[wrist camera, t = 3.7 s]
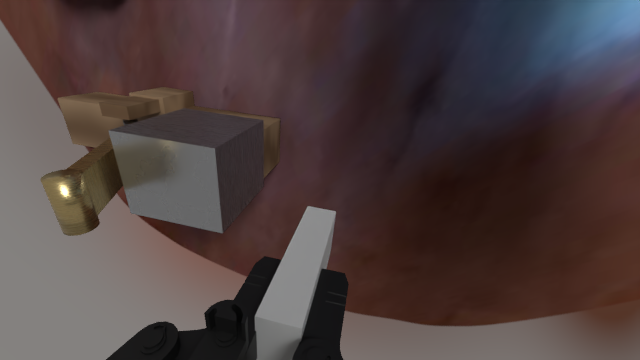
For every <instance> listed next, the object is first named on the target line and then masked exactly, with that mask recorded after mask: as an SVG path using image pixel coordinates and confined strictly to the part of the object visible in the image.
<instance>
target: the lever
mask: <svg viewBox="0 0 640 360" xmlns="http://www.w3.org/2000/svg"><path fill="white" fill-rule="evenodd" d="M135 122H138V119H137V118H136V119H132V120H125V119H123V123H124V126H125V125H128V124H132V123H135ZM41 182H42V184H43V187H44V189H45V191H46V194H47V196H48V198H49V201H50V203H51V206H52V208H53V210H54V213H55V215H56V217H57V220H58V222H59V224H60V226H61V229H62V231H63V233H64V234H66V235H69V236H71V235H72V236H73V235H81V234H84V233H87V232H89V231H92V230H93V229H95V228H96V227H97V226H98V225H99V219H98V214H99V213H100V212H101V211H102V210H103V208H104V207H105V206H106V205H107V204H108V202H109V201H110V200H111V199H112V198H113V197H114V196H115V194H116V193H117V192H118V191H119V190H120V189H121V187H122V186H123V182H122V179H121V175H120V171H119V168H118V164H117V160H116V157H115V153H114V149H113V146H112V142H111V138H109V139H107V140H106V141H105V142H103V143H102V144H100V145H99V146H98V147H96V148H95V149H93V150H92V151H91V152H89V153H88V154H87V155H85V156H84V157H82V158H81V159H80V160H78V161H77V162H75V163H74V164H73V165H71V166H70V167H69V168H67V169H66V170H59V171H55V172H51V173H48V174H46V175H44V176H43V177H42V178H41Z"/></svg>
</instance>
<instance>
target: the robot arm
mask: <svg viewBox="0 0 640 360" xmlns="http://www.w3.org/2000/svg"><path fill="white" fill-rule="evenodd" d="M335 216H336V211H331V210H326V209H321V208H315V207H310V206H308V207H307V209H306V211H305V213H304V215H303V217H302V219H301V221H300V223H299V225H298V227H297V229H296V232H295V234H294V236H293V238H292V240H291V242H290V244H289V246H288V248H287V250H286V252H285V254H284V256H283V258H282V260H279V259H274V258H270V257H266V256H265V257H263V258H262V259H261V260H259V261H258V262H257V263H256V264H255V265H254V267H253V268H252V270H251V272H250V274H249V275H248V277H247V279H246V280H245V283H244V284H243V285H242V287H241V289H240V290H239V292H238V294H237V295H236V297H235V299H234V300H224V301H220V302H217V303H216V304H214V305H212V306H211V307H210V308H209V309H208V310H207V311H206V312H205V313H204V314H205V320H206V326H207V328H205V329H200V330H190V331H178V330H177V328H176V327H175V326H174V324H172V323H168V322H157V323H154V324H151V325H148V326H147V327H145V328H144V329H142V330H141V331H139V332H138V333H137V334H136V335H135V336H134V337H132V338H131V339H130V340H129V341H127V342H126V343H125V344H124V345H123V346H122V347H120V348H119V349H118V350H117V351H116V352H114V353H113V354H112V355H111V356H110V357H109V358H107V359H106V360H343V358H342V356H341V352H340V338H341V331H342V324H343V318H344V311H345V304H346V297H347V291H348V281H347V278H346V275H345V273H340V272H336V271H331V270H327V269H326V268H327V264H328V260H329V256H330V252H331V245H332V238H333V231H334V223H335Z"/></svg>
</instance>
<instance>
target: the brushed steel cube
mask: <svg viewBox="0 0 640 360" xmlns="http://www.w3.org/2000/svg"><path fill="white" fill-rule="evenodd" d="M108 131H109V135H110V138H111V142H112V146H113V149H114V153H115V157H116V160H117V164H118V168H119V171H120V175H121V179H122V182H123V186H124V190H125V193H126V197H127V201H128V205H129V208H130V212H131V213H132V214H137V215H141V216H146V217H150V218H155V219H159V220H164V221H168V222H173V223H178V224H182V225H187V226H191V227H196V228H200V229H205V230H209V231H214V232H219V233H223V232H224V231H225V230H226V229H227V228H228V227H229V226H230V224H231V223H232V222H233V221H234V220H235V219H236V218H237V216H238V215H239V214H240V213H241V212H242V211H243V210H244V208H245V207H246V206H247V205H248V204H249V203H250V202H251V200H252V199H253V198H254V197H255V196H256V195H257V194H258V192H259V191H260V190H261V189H262V188H263V187H264V120H260V119H254V118H247V117H240V116H234V115H227V114H220V113H213V112H207V111H200V110H193V109H187V108H183V109H180V110H176V111H173V112H169V113H166V114H162V115H159V116H156V117H152V118H149V119H145V120H142V121H138V122H135V123H132V124H128V125H125V126H121V127H118V128H114V129H111V130H108Z"/></svg>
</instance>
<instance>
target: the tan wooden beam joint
mask: <svg viewBox="0 0 640 360" xmlns="http://www.w3.org/2000/svg"><path fill="white" fill-rule="evenodd" d="M129 95H130V96H123V95H116V94H109V93H102V92H94V93H87V94H81V95H74V96H67V97H60V98H58V101H59V104H60V107H61V110H62V113H63V116H64V119H65V121H66V124H67V127H68V130H69V133H70V136H71V139H72V142H73V144H78V145H84V146H89V147H95V148H96V147H98V146H99V145H100V144H102V143H103V142H105V141H106V140H107V139H109V138H110V135H109V131H108V130H111V129H114V128H118V127H121V126H124V123H123V119H125V120H132V119H136V118H137V119H138V121H142V120H145V119H149V118H152V117H156V116H159V115H162V114H166V113H169V112H173V111H176V110H180V109H183V108H187V109H193V110H200V111H207V112H213V113H220V114H227V115H234V116H240V117H247V118H254V119H260V120H264V178H265V177H266V176H267V174H268V173H269V172H270V171H271V170H272V169H273V168H274V167H275V166H276V165H277V164H278V163H279V155H280V119H279V118H273V117H266V116H259V115H252V114H245V113H239V112H232V111H225V110H218V109H211V108H205V107H198V106H194V98H193V91H187V90H180V89H172V88H165V87H161V88H155V89H150V90H144V91H138V92H132V93H129Z"/></svg>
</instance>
